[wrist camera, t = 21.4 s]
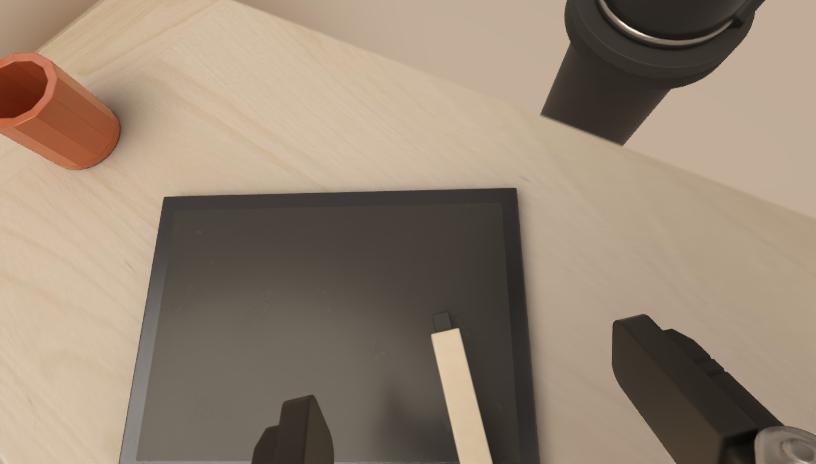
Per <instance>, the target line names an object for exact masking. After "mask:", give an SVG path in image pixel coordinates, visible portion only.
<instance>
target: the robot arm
mask: <svg viewBox="0 0 816 464" xmlns="http://www.w3.org/2000/svg"><path fill="white" fill-rule="evenodd" d="M764 1H765V0H595V4H596V7H597V9H598V11H599V13H600V14H601V16H602V17H603V19H604V20H605V21H606V22H607V23H608V25H609V26H610V27H611V28H613V29H614V30H615V31H616V32H617V33H619V34H620V35H622V36H623V37H625V38H627V39H628V40H630V41H632V42H635V43H637V44H640V45H643V46H646V47H649V48H654V49H660V50H685V49H691V48H695V47H699V46H701V45H704V44H706V43H708V42H710V41H712V40H714V39H715V38H717V37H718V36H719V35H720V34H722V33H723V32H724V31H725V30H726V29H730V28H741V26H742V25H743V24H744V23H745V22H746V21H747V20H748V19H749V18H750V16H751V15H752V14H753V13H754V12H755V11H756V10H757V9H758V8H759V6H760V5H761V4H762V3H763V2H764ZM612 367H613V371H614V374H615V377H616V379H617V381H618V383H619V385H620V387H621V388H622V390H623V391H624V392H625V394H626V395H627V396H628V398H629V399H630V400H631V402H632V403H633V405H634V406H635V407H636V409H637V410H638V411H639V413H640V414H641V416H642V417H643V418H644V420H645V421H646V422H647V424H648V425H649V427H650V428H651V429H652V431H653V432H654V433H655V435H656V436H657V437H658V439H659V440H660V442H661V443H662V444H663V446H664V447H665V448H666V450H667V451H668V453H669V454H670V455H671V457H672V458H673V459H674V461H675V462H676V463H677V464H816V435H814V434H812V433H809V432H807V431H804V430H801V429H798V428H794V427H788V426H784V425H783V424H782V423H781V422H780V421H779V420H777V419H776V418H775V417H774V416H773V415H772V414H771V413H770V412H769V411H768V410H767V409H766V408H765V407H764V406H763V405H762V404H761V403H760V402H759V401H757V400H756V399H755V398H754V397H753V396H752V395H751V394H750V393H749V392H748V391H747V390H746V389H745V388H744V387H743V386H742V385H741V384H740V383H738V382H737V381H736V380H735V379H734V378H733V377H732V376H731V375H730V374H729V373H728V372H725V371H724V368H723V367H722V366H721V365H719V364H718V363H717V362H716V361H715V360H714V359H711V358H710V355H709V354H708V353H707V352H706V351H705V350H704V349H703V348H702V347H700V346H699V345H698V344H697V343H696V342H695V341H694V340H693V339H691V338H689V337H687V336H685V335H683V334H681V333H679V332H677V331H675V330H673V329H668V330H664V331H663V330H662V329H661V328H660V327H659V326H658V325H657V324H656V323H655V322H654V321H653V320H652V319H651V318H650V317H649V316H647V315H645V314H641V315H637V316H633V317H629V318H625V319H621V320H616V321H614V323H613V334H612ZM251 464H334V447H333V441H332V437H331V433H330V431H329V428H328V426H327V424H326V421H325V419H324V416H323V414H322V412H321V409H320V407H319V405H318V402H317V400H316V398H315V396H314V395H313V394H312V395H308V396H304V397H300V398H296V399H292V400H287V401H284V402H283V404H282V409H281V415H280V421H279V425H276V426H271V427H267V428H266V429H265V431H264V432H263V434H262V436H261V438H260V439H259V441H258V443H257V444H256V446H255V448H254V452H253V457H252V462H251Z"/></svg>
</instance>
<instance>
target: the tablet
mask: <svg viewBox="0 0 816 464" xmlns="http://www.w3.org/2000/svg"><path fill="white" fill-rule="evenodd" d="M446 311H448V312H449V315H450V319H451V323H452V327H453V329H456V328H459V330H460V334H461V338H462V342H463V346H464V350H465V354H466V358H467V362H468V366H469V370H470V374H471V379H472V383H473V387H474V391H475V395H476V399H477V403H478V407H479V411H480V415H481V419H482V423H483V427H484V431H485V435H486V439H487V443H488V447H489V451H490V455H491V459H492V463H493V464H540V460H539V448H538V436H537V425H536V413H535V401H534V389H533V377H532V366H531V354H530V342H529V330H528V318H527V307H526V295H525V283H524V271H523V259H522V248H521V236H520V224H519V212H518V200H517V189H516V188H497V189H457V190H417V191H377V192H338V193H298V194H258V195H218V196H179V197H164V200H163V205H162V211H161V217H160V223H159V229H158V235H157V241H156V247H155V253H154V258H153V264H152V270H151V276H150V282H149V288H148V294H147V300H146V306H145V312H144V317H143V323H142V329H141V335H140V341H139V347H138V353H137V359H136V365H135V370H134V376H133V382H132V388H131V394H130V400H129V406H128V412H127V418H126V423H125V429H124V435H123V441H122V447H121V453H120V459H119V464H251V462H252V457H253V452H254V448H255V446H256V444H257V443H258V441H259V439H260V438H261V436H262V434H263V432H264V431H265V429H266V428H267V427H271V426H276V425H279V421H280V415H281V409H282V404H283V402H284V401H287V400H292V399H296V398H300V397H304V396H308V395H312V394H313V395H314V396H315V398H316V400H317V402H318V405H319V407H320V409H321V412H322V414H323V416H324V419H325V421H326V424H327V426H328V428H329V431H330V433H331V437H332V441H333V447H334V464H460V462H459V457H458V453H457V448H456V444H455V440H454V435H453V431H452V427H451V422H450V418H449V413H448V409H447V405H446V400H445V396H444V391H443V387H442V383H441V378H440V374H439V370H438V365H437V361H436V356H435V352H434V348H433V343H432V339H431V334H434V333H436V331H435V327H434V323H433V318H432V315H433V314H437V313H442V312H446Z"/></svg>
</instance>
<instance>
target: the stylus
mask: <svg viewBox="0 0 816 464" xmlns="http://www.w3.org/2000/svg"><path fill="white" fill-rule="evenodd" d="M432 318H433V323H434V327H435V331H436V333H434V334H431V339H432V343H433V348H434V352H435V356H436V361H437V365H438V370H439V374H440V378H441V383H442V387H443V391H444V396H445V400H446V405H447V409H448V413H449V418H450V422H451V427H452V431H453V435H454V440H455V444H456V448H457V453H458V457H459V462H460V464H493V463H492V459H491V455H490V451H489V447H488V443H487V439H486V435H485V431H484V427H483V423H482V419H481V415H480V411H479V407H478V403H477V399H476V395H475V391H474V387H473V383H472V379H471V374H470V370H469V366H468V362H467V358H466V354H465V350H464V346H463V342H462V338H461V334H460V330H459V328H456V329H453V327H452V323H451V319H450V315H449V312H448V311H446V312H442V313H437V314H433V315H432Z"/></svg>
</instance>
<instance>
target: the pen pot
mask: <svg viewBox="0 0 816 464" xmlns="http://www.w3.org/2000/svg"><path fill="white" fill-rule="evenodd" d="M0 133H1V134H3V135H4V136H6V137H8V138H10V139H12V140H13V141H15V142H17V143H19V144H21V145H23V146H24V147H26V148H28V149H30V150H32V151H33V152H35V153H37V154H39V155H41V156H42V157H44V158H46V159H48V160H50V161H52V162H53V163H55V164H57V165H59V166H61V167H64V168H67V169H74V170H78V169H85V168H88V167H91V166H93V165H96V164H97V163H99V162H101V161H102V160H103V159H105V158H106V157H107V156H108V155H109V154H110V153H111V151H112V150H113V149H114V147H115V145H116V144H117V141H118V138H119V134H120V126H119V122H118V119H117V117H116V116H115V114H114V113H113V112H112V111H111V110H110V109H109V108H108V107H107V106H106V105H105V104H104V103H102V102H101V101H100V100H99V99H97V98H96V97H95V96H94V95H93V94H91V93H90V92H89V91H88V90H86V89H85V88H84V87H83V86H81V85H80V84H79V83H78V82H77V81H75V80H74V79H73V78H72V77H70V76H69V75H68V74H67V73H66V72H64V71H63V70H62V69H61V68H59V67H58V66H57V65H56V64H54V63H53V62H52V61H50V60H49V59H47V58H45V57H43V56H41V55H39V54H37V53H16V54H12V55H10V56H8V57H6V58H3V59H1V60H0Z"/></svg>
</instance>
